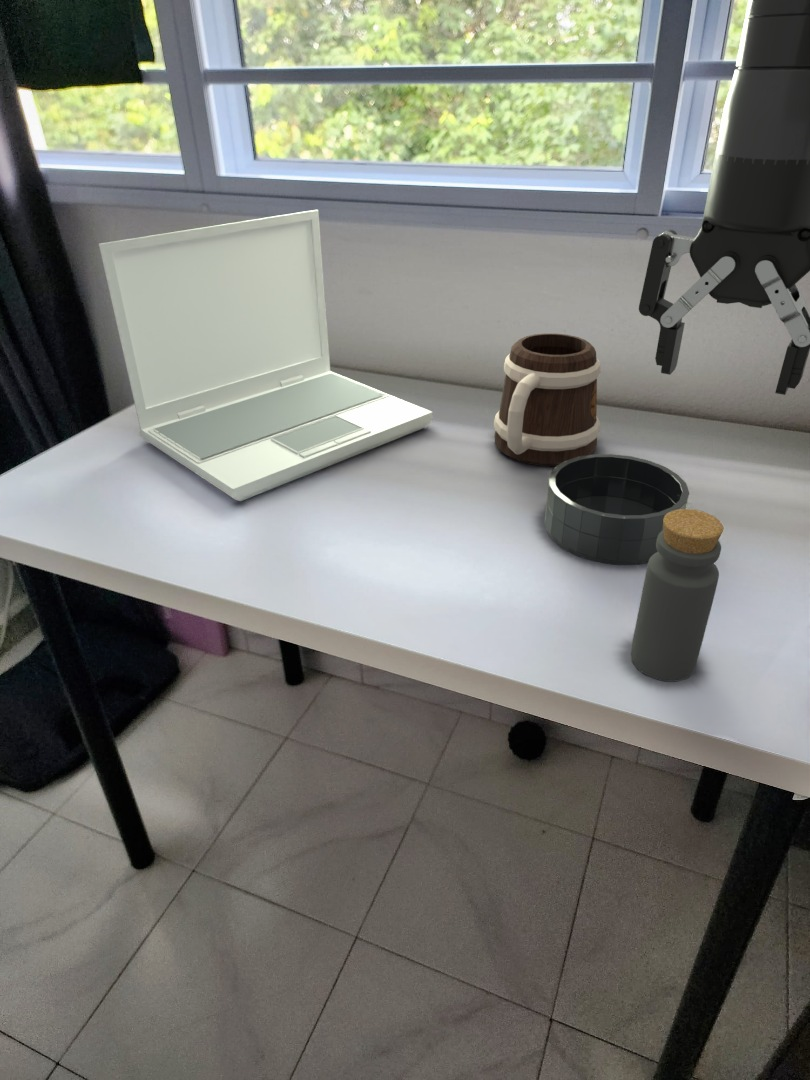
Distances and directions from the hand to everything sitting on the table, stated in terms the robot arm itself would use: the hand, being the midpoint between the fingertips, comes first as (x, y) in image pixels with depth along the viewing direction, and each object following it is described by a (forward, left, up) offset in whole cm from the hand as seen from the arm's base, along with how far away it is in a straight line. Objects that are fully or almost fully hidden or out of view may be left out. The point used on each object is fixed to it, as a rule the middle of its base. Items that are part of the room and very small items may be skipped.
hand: (723, 381), depth 59 cm
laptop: (+64, -8, -26) cm, 69 cm away
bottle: (-1, +3, -26) cm, 26 cm away
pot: (+14, -15, -26) cm, 33 cm away
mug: (+32, -27, -26) cm, 49 cm away
